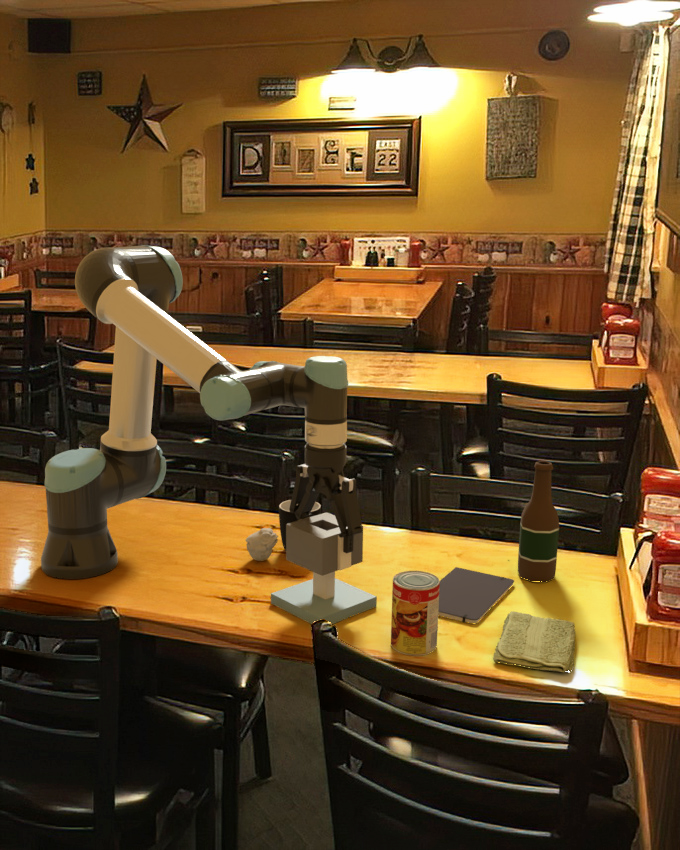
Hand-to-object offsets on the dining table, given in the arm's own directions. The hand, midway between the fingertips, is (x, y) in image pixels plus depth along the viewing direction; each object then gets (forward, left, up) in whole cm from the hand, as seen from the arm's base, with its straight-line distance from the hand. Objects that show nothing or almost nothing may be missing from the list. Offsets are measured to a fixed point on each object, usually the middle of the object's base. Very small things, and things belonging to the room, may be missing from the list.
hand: (324, 559), depth 172 cm
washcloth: (+37, +16, -10) cm, 41 cm away
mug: (-25, +16, -9) cm, 31 cm away
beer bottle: (+18, +42, -9) cm, 47 cm away
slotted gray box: (0, 0, 0) cm, 0 cm away
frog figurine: (-25, +5, -9) cm, 27 cm away
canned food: (+22, +1, -9) cm, 24 cm away
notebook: (+15, +23, -10) cm, 29 cm away
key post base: (0, 0, -9) cm, 9 cm away
